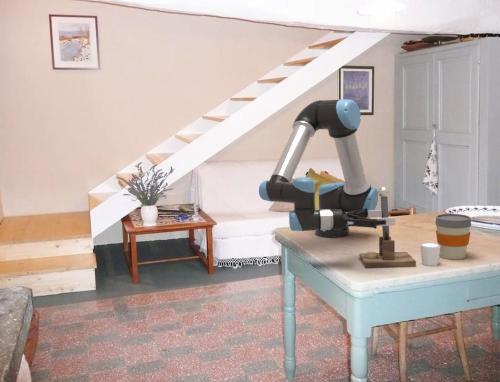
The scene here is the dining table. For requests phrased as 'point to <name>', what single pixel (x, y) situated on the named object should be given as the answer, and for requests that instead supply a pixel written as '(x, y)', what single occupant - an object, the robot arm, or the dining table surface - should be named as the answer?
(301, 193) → the robot arm
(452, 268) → the dining table surface
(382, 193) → the lever
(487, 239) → the dining table surface
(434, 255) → the white cylinder
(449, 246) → the reusable coffee cup
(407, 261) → the lever stand
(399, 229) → the dining table surface
